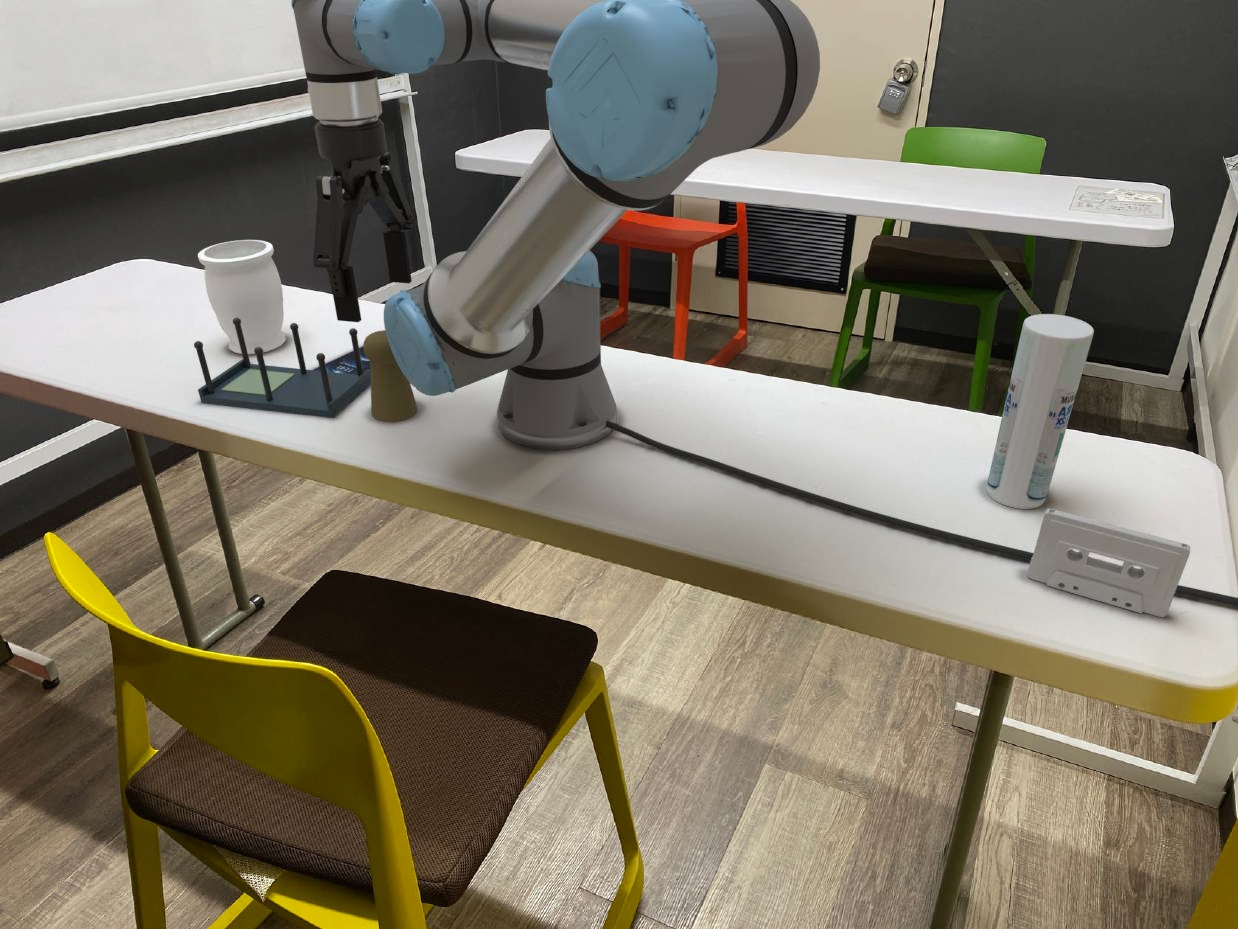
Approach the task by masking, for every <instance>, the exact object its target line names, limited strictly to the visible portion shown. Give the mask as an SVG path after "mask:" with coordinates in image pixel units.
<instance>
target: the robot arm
mask: <svg viewBox="0 0 1238 929" xmlns="http://www.w3.org/2000/svg"><path fill="white" fill-rule="evenodd" d="M290 3H291V9H293V13H294V14H293V15H294V20H295V25H296V30H297V31H296V32H297V36H298V40H299V41H298V42H299V46H300V51H301V52H300V53H301V57H302V62H303V66H304V68H303V69H304V71H305V78H306V82H307V93H308V95H309V99H310V100H309V101H310V106H311V112H312V117H313V118H315V119H316V120H318V121H317V122H316V123H315V125H314V134H315V138H316V145H317V149H318V154H319V156H320V158H322V159H324V160H326V161H328V162H329V163H330V165H331V174H330V176H329V175H317V176H316V177H315V187H316V188H315V189H316V196H317V197H316V198H317V201H316V202H317V204H316V216H315V230H314V245H313V246H314V247H313V260H312V263H313V267H315V268H316V269H317V268H318V269H325V270H326V271H327V273H328V279H329V284H330V288H331V289H330V290H331V294H332V298H333V303H334V309H335V314H336V320H337V321H338V322H347V323H348V322H349V323H360V322H361V321H362V315H361V308H360V303H359V297H358V290H357V285H356V278H355V273H354V267H353V266H351V265H349V261H350V260H349V259H350V256H351V250H352V246H353V242H354V236H355V232H356V231H355V230H356V225H357V222H358V216H359V215H361V214H362V213H363V211H364V207H366V206H367V205H370V207H371V208H372V210H373V211H374V213H375V214H376V215H377V217H378V219H379V220H380V221H381V222H382V224H383V226H385V228H386V229H387V230H384V231H383V232H382V236H383V242H384V250H385V257H386V264H387V270H388V276H389V277H388V278H389V282H390V283H397V284H411V283H412V282H413V281H412V273H411V265H410V258H409V257H410V256H409V250H408V243H407V236H406V234H407V233H406V231H408V232H411V231H413V228H414V224H413V222H412V221H413V219H414V214H413V212H412V209H411V207H410V204H409V202H408V199H407V196H406V194H405V192H404V189H403V187H402V184H401V181H400V179H399V176H398V173H397V171H396V167H395V163H394V157H393V154H392V152H389V151H388V147H387V138H386V132H385V124H384V122H383V121H382V120H381V118H379V117H380V116H381V115H382V114H383V107H382V101H381V95H380V94H381V93H380V88H379V87H380V86H379V81H378V74H377V70H378V71H382V72H387V73H389V74H391V75H392V74H393V75H397V76H398V75H401V74H411V75H412V74H420V73H423V72H425V71H427V70H428V69H429V68H431V67H432V66H440V65H448V64H455V63H461V62H471V61H473V62H474V61H481V60H482V61H483V60H484V61H485V60H489V61H495V62H501V63H507V64H513V65H519V66H524V67H529V68H533V69H538V70H543V71H547V76H548V78H550V79H551V81H552V87H548V88H547V89H546V90H545V103H546V104H545V105H546V111H547V112H546V113H547V116H548V129H549V135H550V138H549V140H548V141H547V142H546V143H545V145H544V146H543V147H542V149H541V150H540V151H539V153H538V154H537V156H536V157H535V158H534V160H533V161H532V162H531V164H530V165H529V167H528V168H527V169H526V171H525V172H524V173H523V175H522V176H521V178H520V179H519V180H518V181H517V183H516V184H515V185H514V187H513V188H512V190H510V192H509V193H508V195H507V196H506V197H505V199H504V200H503V201H502V203H501V204H500V205H499V207H498V208H497V210H496V211H495V213H494V214H493V215H492V216H491V218H490V219H489V221H488V222H487V223H486V225H485V226H484V227H483V228H482V230H481V231H480V232H479V234H478V235H477V236H476V238H475V239H474V240H473V242H472V243H471V244H470V246H469V247H468V249H467V250H465V251H458V252H455V253H452V254H450V255H448V256H446V257H445V258H443V259H442V260H441V261H440V262H439V263H438V264H437V265H436V266H435V267H434V269H433V270H432V271H431V273H430V274H429V275H428V277H427V278H426V280H425V281H424V282H423V283H422V284H421V285H419V286H417V287H414V288H412V289H407V290H406V289H401V290H400V292H397V293H395V294H393V295H391V296H389V297H388V298H387V300H386V301H385V304H384V307H383V325H384V330H385V331H386V334H387V339H388V342H389V345H390V348H391V350H392V353H393V355H394V357H395V360H396V362H397V364H398V366H399V367H400V369H401V371H402V372H403V374H404V375H405V377H406V378H407V379H408V381H409V382H410V384H411V386H412V387H414V388H415V389H416V390H417V391H418V392H420V393H421V394H423V395H425V396H429V397H436V396H440V395H444V394H448V393H455V392H456V390H459V389H462V388H464V387H466V386H469V385H472V384H475V383H476V382H480V381H482V380H485V379H487V378H490V377H492V376H495V375H498V374H500V373H502V372H505V371H506V375H505V379H504V383H503V386H502V390H501V394H500V398H499V402H498V407H497V409H496V410H497V411H496V416H497V426H498V429H499V431H500V433H501V434H502V435H503V436H504V437H505V438H506V439H508V440H509V441H511V442H512V443H514V444H517V445H519V446H523V447H527V448H531V449H539V450H553V451H554V450H567V449H573V448H574V449H575V448H579V447H583V446H587V445H591V444H593V443H595V442H598V441H599V440H601V439H603V438H605V437H606V436H607V435H609V434H610V433H611V432H612V431H616V432H618V433H620V434H623V435H625V436H628V437H630V438H632V439H635V440H637V441H639V442H641V443H643V444H645V445H647V446H650V447H652V448H655V449H658V450H660V451H663V452H665V453H667V454H671V455H675V456H677V457H680V458H683V459H687V460H690V461H693V462H696V463H699V464H702V465H706V466H708V467H712V468H714V469H718V470H719V471H723V472H725V473H729V474H732V475H735V476H737V477H741V478H742V479H746V480H748V481H752V482H755V483H757V484H760V485H763V486H765V487H769V488H772V489H775V490H777V491H781V492H785V493H786V494H790V495H793V496H796V497H799V498H801V499H802V498H803V499H805V500H809V501H812V502H814V503H818V504H820V505H824V506H827V507H830V508H834V509H837V510H840V511H844V512H847V513H850V514H853V515H857V516H859V517H864V518H867V519H870V520H874V521H876V522H880V523H883V524H887V525H891V526H895V527H899V528H902V529H906V530H910V531H913V532H916V533H920V534H924V535H928V536H931V537H935V538H939V539H942V540H946V541H950V542H954V543H958V544H962V545H965V546H969V547H973V548H977V549H981V550H985V551H990V552H994V553H997V554H1001V555H1006V556H1010V557H1014V558H1017V559H1022V560H1026V561H1030V562H1031V558H1032V557H1033V554H1034V552H1032V551H1026V550H1022V549H1018V548H1013V547H1009V546H1006V545H1001V544H997V543H994V542H988V541H984V540H980V539H976V538H973V537H969V536H965V535H961V534H957V533H953V532H949V531H946V530H945V531H944V530H941V529H938V528H933V527H930V526H927V525H922V524H920V523H919V524H918V523H915V522H911V521H908V520H904V519H901V518H897V517H893V516H890V515H887V514H883V513H879V512H875V511H873V510H869V509H865V508H862V507H858V506H855V505H852V504H849V503H846V502H842V501H838V500H835V499H832V498H829V497H825V496H822V495H819V494H816V493H813V492H810V491H806V490H803V489H800V488H797V487H794V486H791V485H788V484H785V483H782V482H780V481H776V480H773V479H770V478H766V477H765V476H764V477H763V476H761V475H758V474H755V473H753V472H749V471H746V470H743V469H740V468H738V467H735V466H732V465H729V464H727V463H724V462H720V461H718V460H715V459H711V458H708V457H706V456H702V455H700V454H696V453H692V452H689V451H686V450H682V449H679V448H677V447H674V446H671V445H668V444H665V443H662V442H660V441H657V440H655V439H652V438H650V437H648V436H645V435H643V434H641V433H640V432H637V431H634V430H632V429H629V428H628V427H625V426H622V425H620V424H617V404H616V401H615V398H614V395H613V393H612V390H611V387H610V385H609V382H608V379H607V377H606V374H605V370H604V369H603V366H602V346H601V288H602V285H601V282H600V275H599V263H598V259H597V257H596V256H595V254H594V253H593V252H592V251H591V250H592V248H593V247H594V246H595V245H596V244H597V243H598V242H599V241H600V240H601V239H602V238H603V237H604V236H605V235H606V234H607V233H608V232H609V231H610V230H611V229H612V227H613V226H615V225H616V223H617V222H619V220H620V219H621V218H622V217H623V216H624V215H625V214H626V213H627V212H628V211H633V212H634V211H645V210H650V209H652V208H655V207H657V206H658V205H660V204H661V203H663V202H664V201H665V200H666V199H667V198H668V197H669V196H670V195H672V193H673V192H675V191H676V190H677V189H678V188H679V186H680V185H681V184H682V183H684V182H685V181H686V179H687V178H688V177H690V175H691V174H693V173H694V172H695V170H697V169H698V168H699V167H700V166H702V165H704V164H705V163H706V162H708V161H710V160H712V159H715V158H719V157H723V156H726V155H730V154H734V153H739V152H743V151H746V150H752V149H754V148H758V147H762V146H765V145H767V144H769V143H771V142H773V141H775V140H777V139H779V138H780V137H782V136H783V135H785V134H786V133H787V132H789V131H790V130H791V129H792V128H793V127H794V126H795V125H796V124H797V122H798V121H799V120H800V119H802V117H803V116H804V115H805V113H806V111H807V109H808V108H809V106H810V104H811V102H812V101H813V98H814V96H815V93H816V89H817V87H818V83H819V78H820V77H819V76H820V71H821V58H820V57H821V56H820V55H821V54H820V53H821V52H820V48H819V47H820V46H819V42H818V38H817V36H816V32H815V30H814V27H813V26H812V24H811V22H810V20H809V19H808V17H807V15H806V14H805V13H804V12H803V10H802V9H801V7H799V6H798V5H797V4H796V3H795V2H793V1H792V0H291V1H290ZM1174 594H1178V595H1182V596H1187V597H1191V598H1192V597H1193V598H1197V599H1200V600H1205V601H1211V602H1215V603H1219V604H1224V605H1229V606H1232V607H1237V608H1238V597H1236V596H1232V595H1227V594H1222V593H1217V592H1213V591H1208V590H1203V589H1199V588H1194V587H1189V586H1184V585H1180V584H1178V586H1177V588H1176V591H1175V593H1174Z"/></svg>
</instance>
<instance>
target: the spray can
mask: <svg viewBox="0 0 1238 929" xmlns="http://www.w3.org/2000/svg"><path fill="white" fill-rule="evenodd" d="M1094 333H1095V330H1094V328H1093V327H1092V325H1090V324H1089V323H1087V322H1086V321H1083V320H1082V319H1080V318H1079V319H1078V318H1076V317H1073V316H1068V315H1062V314H1055V313H1039V314H1033V315H1030V316H1028V317H1026V318H1025V319H1024V321H1023V323H1022V328H1021V332H1020V337H1019V341H1018V344H1017V350H1016V354H1015V358H1014V362H1013V367H1012V372H1011V376H1010V381H1009V385H1008V389H1007V394H1006V398H1005V403H1004V407H1003V411H1002V416H1001V419H1000V420H1001V421H1000V425H999V429H998V434H997V438H996V443H995V446H994V451H993V455H992V460H991V464H990V468H989V473H988V477H987V482H986V492H987V495H988V496H989V497H990V498H991V499H992V500H994V501H995V502H997V503H999V504H1001V505H1003V506H1006V507H1010V508H1015V509H1019V510H1021V509H1022V510H1030V509H1032V510H1033V509H1035V508H1039V507H1041V506H1042V505H1043V504H1044V503H1045V501H1046V500H1047V497H1048V495H1049V490H1050V487H1051V483H1052V481H1053V480H1052V479H1053V476H1054V473H1055V469H1056V465H1057V462H1058V459H1059V456H1060V452H1061V448H1062V446H1063V442H1064V438H1065V435H1066V432H1067V428H1068V424H1069V420H1070V417H1071V413H1072V410H1073V407H1074V403H1075V400H1076V397H1077V393H1078V390H1079V386H1080V382H1081V379H1082V376H1083V375H1082V374H1083V372H1084V368H1085V365H1086V362H1087V358H1088V355H1089V351H1090V348H1091V345H1092V340H1093V338H1094Z"/></svg>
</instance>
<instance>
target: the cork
mask: <svg viewBox="0 0 1238 929" xmlns="http://www.w3.org/2000/svg"><path fill="white" fill-rule="evenodd" d="M363 347H364V353H365V355H366V357H367V358H368V359H369V360H370V374H371V385H370V408H371V417H372V418H373V419H374V420H376V421H379V422H383V423H395V422H402V421H405V420H409V419H411V418H413V417H414V416H415V415H416V414H417V413H418V410H419V408H418V405H417V401H416V398H415V394H414V391H413V389H412V388H413V387H412V384H411V383H410V382H409V381H408V379H407V378H406V377H405V375H404V374H403V372H402V371H401V369H400V367H399V366H398V364H397V362H396V360H395V357H394V355H393V353H392V350H391V348H390V345H389V342H388V339H387V334H386V331H385V329H384V330H377V331H374V332H371V333H370V334H368V335H367V336H366V337H365V339H364V341H363Z"/></svg>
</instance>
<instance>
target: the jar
mask: <svg viewBox="0 0 1238 929" xmlns="http://www.w3.org/2000/svg"><path fill="white" fill-rule="evenodd" d="M274 252H275V250H274V247H273V244H272V243H270V242H268V241H265V240H260V239H240V240H239V239H238V240H231V241H225V242H220V243H216V244H213V245H210V246H207V247H205V248H203V249H201V250H200V251H199V252H198V253H197V258H198V261H199V263H200V264H202V265H203V266H204V284H205V290H206V294H207V297H208V300H209V303H210V305H211V308H212V310H213V312H214V314H215V316H216V319H217V322H218V325H219V326H220V327H221V329H222V331H223V332H224V334H225V335H226V336H227V337H228V339H229V342H228V349H229V350H230V351H231V352H233V353H236V354H240V355H242V353H241V349H240V345H239V341H238V337H237V333H236V329H235V325H234V324H233V319H234V318H239V319H240V320H241V328H242V332H243V336H244V340H245V344H246V348H247V352H248V355H256V354H255V353H254V349H255V348H256V347H261V348H262V349H263V353H266V352H267V353H268V352H270V351H273V350H275V349H278V348H279V347H281V346H282V345H284V343H285V342H286V340H287V337H286V335H285V333H284V332H283V331H282V328H283V324H284V317H285V316H284V315H285V314H284V292H283V285H282V281H281V278H280V274H279V270H278V268H277V266H276V263H275V262H274V259H273V258H272V256H273V255H274Z"/></svg>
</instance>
